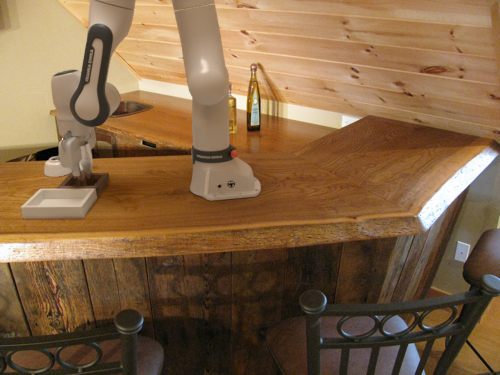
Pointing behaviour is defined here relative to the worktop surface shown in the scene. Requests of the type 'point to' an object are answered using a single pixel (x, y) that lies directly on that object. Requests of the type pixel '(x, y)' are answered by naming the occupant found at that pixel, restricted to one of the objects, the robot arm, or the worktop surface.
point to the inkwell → (55, 168)
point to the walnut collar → (100, 185)
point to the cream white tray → (59, 203)
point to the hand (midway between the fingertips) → (82, 170)
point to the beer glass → (85, 167)
